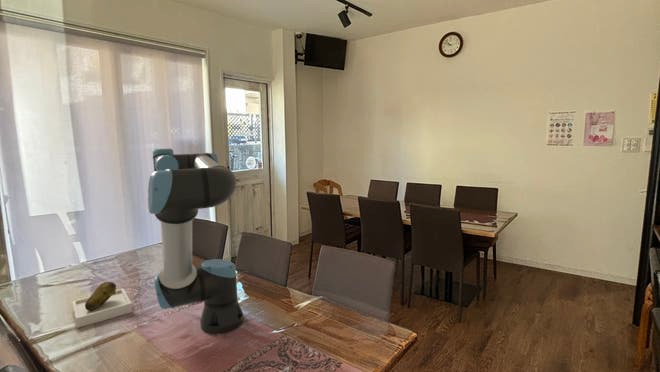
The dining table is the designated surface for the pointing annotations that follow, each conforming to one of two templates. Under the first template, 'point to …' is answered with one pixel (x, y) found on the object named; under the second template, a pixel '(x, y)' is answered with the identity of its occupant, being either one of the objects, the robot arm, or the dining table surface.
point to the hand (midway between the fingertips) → (170, 238)
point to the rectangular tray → (102, 309)
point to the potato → (100, 295)
